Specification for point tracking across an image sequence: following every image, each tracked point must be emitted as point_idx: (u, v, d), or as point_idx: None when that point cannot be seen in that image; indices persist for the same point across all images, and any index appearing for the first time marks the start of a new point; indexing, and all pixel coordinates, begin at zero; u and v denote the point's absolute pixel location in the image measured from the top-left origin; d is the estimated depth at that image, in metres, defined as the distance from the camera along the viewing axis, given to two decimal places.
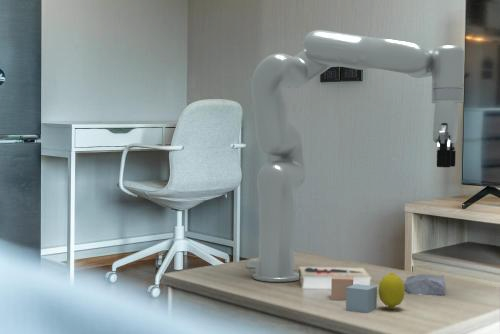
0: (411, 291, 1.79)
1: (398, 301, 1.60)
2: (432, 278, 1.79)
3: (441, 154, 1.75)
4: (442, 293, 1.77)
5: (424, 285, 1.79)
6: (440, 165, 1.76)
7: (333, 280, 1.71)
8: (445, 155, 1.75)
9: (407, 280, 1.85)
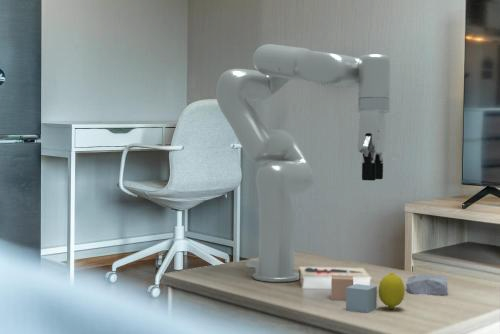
0: (413, 291, 1.79)
1: (398, 301, 1.60)
2: (434, 278, 1.78)
3: (366, 167, 1.73)
4: (444, 293, 1.77)
5: (426, 286, 1.78)
6: (365, 178, 1.74)
7: (333, 280, 1.71)
8: (370, 168, 1.73)
9: (409, 280, 1.85)
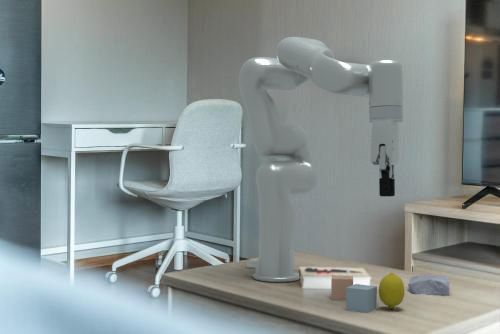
0: (415, 291, 1.79)
1: (398, 301, 1.60)
2: (436, 278, 1.78)
3: (384, 182, 1.66)
4: (446, 293, 1.77)
5: (428, 286, 1.78)
6: (383, 194, 1.67)
7: (333, 280, 1.71)
8: (388, 184, 1.66)
9: (411, 280, 1.85)
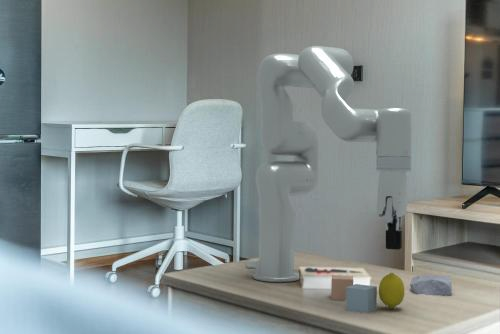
0: (417, 291, 1.79)
1: (398, 301, 1.60)
2: (438, 278, 1.78)
3: (390, 235, 1.60)
4: (448, 293, 1.77)
5: (430, 286, 1.78)
6: (389, 247, 1.61)
7: (333, 280, 1.71)
8: (394, 236, 1.59)
9: (413, 280, 1.85)
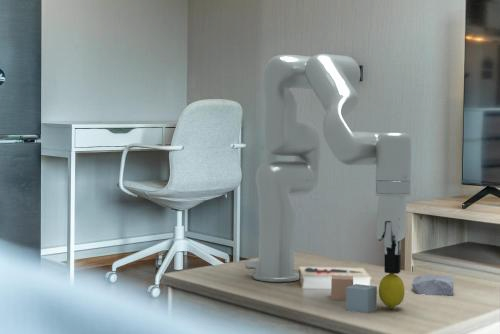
0: (419, 291, 1.79)
1: (398, 301, 1.60)
2: (440, 278, 1.78)
3: (389, 259, 1.60)
4: (450, 293, 1.77)
5: (432, 286, 1.78)
6: (388, 271, 1.61)
7: (333, 280, 1.71)
8: (393, 260, 1.60)
9: (414, 280, 1.85)
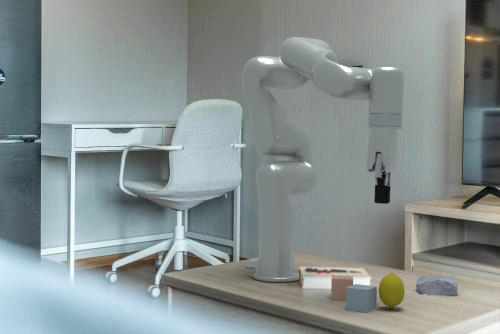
0: (423, 292, 1.78)
1: (398, 301, 1.60)
2: (444, 279, 1.78)
3: (379, 189, 1.66)
4: (454, 294, 1.77)
5: (436, 286, 1.78)
6: (378, 201, 1.67)
7: (333, 280, 1.71)
8: (383, 191, 1.66)
9: (418, 281, 1.85)
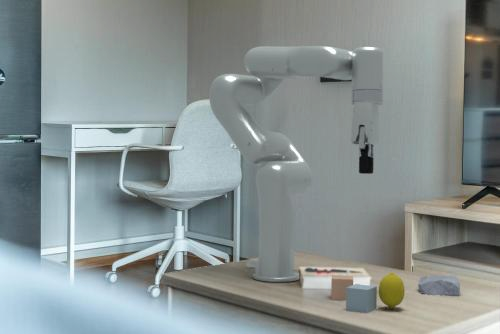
0: (426, 292, 1.78)
1: (398, 301, 1.60)
2: (447, 279, 1.78)
3: (363, 160, 1.79)
4: (457, 294, 1.77)
5: (438, 286, 1.78)
6: (362, 171, 1.80)
7: (333, 280, 1.71)
8: (366, 162, 1.79)
9: (420, 281, 1.85)
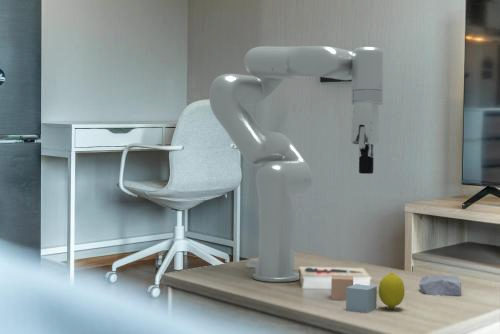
0: (427, 292, 1.78)
1: (398, 301, 1.60)
2: (448, 279, 1.78)
3: (363, 160, 1.79)
4: (458, 294, 1.77)
5: (440, 286, 1.78)
6: (362, 171, 1.80)
7: (333, 280, 1.71)
8: (366, 162, 1.79)
9: (422, 281, 1.84)
